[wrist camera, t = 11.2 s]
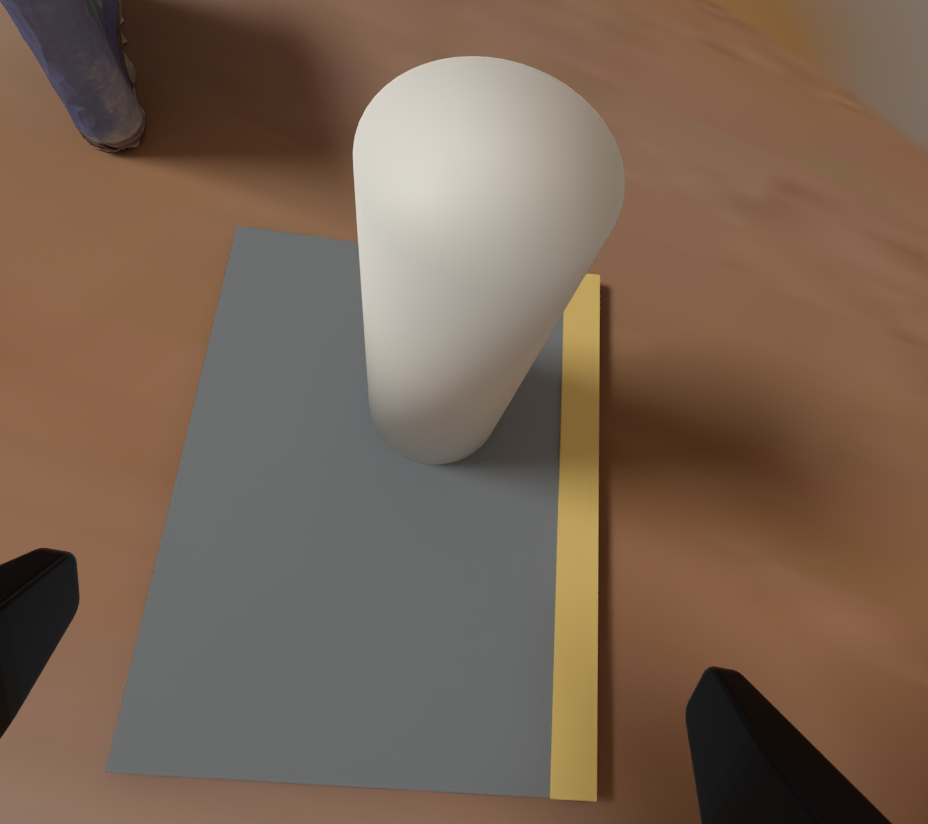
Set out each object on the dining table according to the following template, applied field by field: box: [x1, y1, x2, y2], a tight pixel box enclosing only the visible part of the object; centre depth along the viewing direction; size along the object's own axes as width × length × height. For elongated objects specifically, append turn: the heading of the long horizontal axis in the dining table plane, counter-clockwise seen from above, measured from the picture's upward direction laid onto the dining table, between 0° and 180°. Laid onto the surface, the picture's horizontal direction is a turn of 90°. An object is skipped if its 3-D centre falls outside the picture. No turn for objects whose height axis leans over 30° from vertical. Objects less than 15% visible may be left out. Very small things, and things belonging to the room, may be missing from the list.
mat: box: [105, 226, 600, 802], centre depth 20 cm, size 18×14×1 cm
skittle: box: [353, 56, 625, 465], centre depth 16 cm, size 5×5×12 cm
